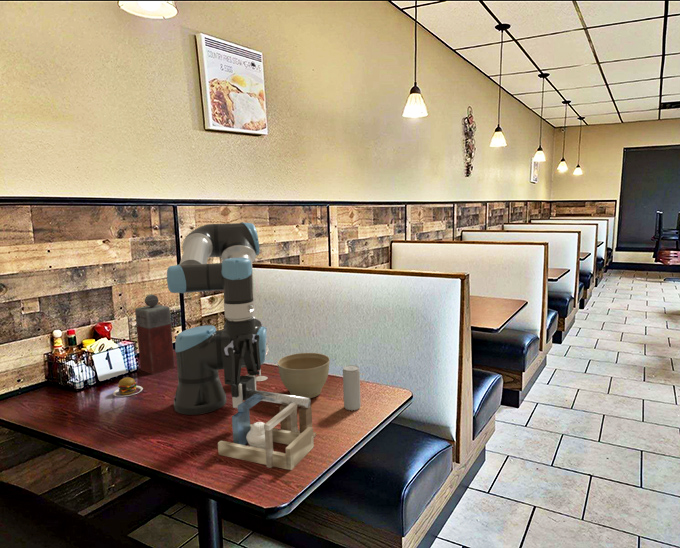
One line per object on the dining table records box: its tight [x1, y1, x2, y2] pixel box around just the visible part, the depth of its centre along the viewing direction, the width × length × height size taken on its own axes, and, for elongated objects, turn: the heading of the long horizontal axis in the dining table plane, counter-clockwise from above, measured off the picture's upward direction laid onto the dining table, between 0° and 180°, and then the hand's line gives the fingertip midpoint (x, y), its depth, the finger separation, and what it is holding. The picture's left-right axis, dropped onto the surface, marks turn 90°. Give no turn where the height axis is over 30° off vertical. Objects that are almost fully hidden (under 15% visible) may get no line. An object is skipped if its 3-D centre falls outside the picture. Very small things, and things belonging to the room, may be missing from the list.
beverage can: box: [342, 364, 362, 412], centre depth 139 cm, size 5×5×12 cm
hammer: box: [231, 375, 312, 445], centre depth 121 cm, size 21×14×13 cm, turn 66°
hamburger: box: [112, 376, 144, 398], centre depth 157 cm, size 12×12×6 cm
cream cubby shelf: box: [279, 404, 317, 438], centre depth 123 cm, size 9×4×8 cm, turn 66°
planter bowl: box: [277, 352, 331, 399], centre depth 151 cm, size 16×16×11 cm
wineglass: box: [256, 342, 270, 382], centre depth 165 cm, size 7×7×12 cm
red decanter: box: [134, 294, 175, 375], centre depth 179 cm, size 9×11×28 cm
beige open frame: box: [217, 403, 315, 471], centre depth 116 cm, size 20×13×10 cm, turn 66°
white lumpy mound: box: [246, 421, 266, 449], centre depth 117 cm, size 6×6×7 cm
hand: (245, 402), depth 128 cm, fingers open, 6 cm apart
